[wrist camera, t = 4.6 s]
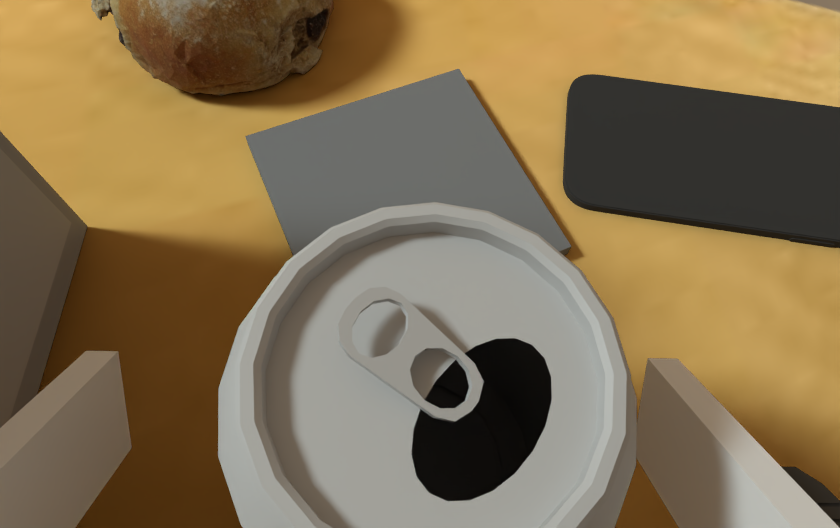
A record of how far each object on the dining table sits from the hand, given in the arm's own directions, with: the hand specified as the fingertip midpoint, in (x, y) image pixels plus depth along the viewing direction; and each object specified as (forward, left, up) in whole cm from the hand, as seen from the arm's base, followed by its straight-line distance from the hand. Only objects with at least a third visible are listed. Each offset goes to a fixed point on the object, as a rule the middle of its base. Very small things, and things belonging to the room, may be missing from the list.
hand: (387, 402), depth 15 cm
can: (0, +1, -6) cm, 6 cm away
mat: (-4, -9, -6) cm, 11 cm away
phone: (-19, -5, -6) cm, 20 cm away
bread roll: (0, -21, -6) cm, 22 cm away
